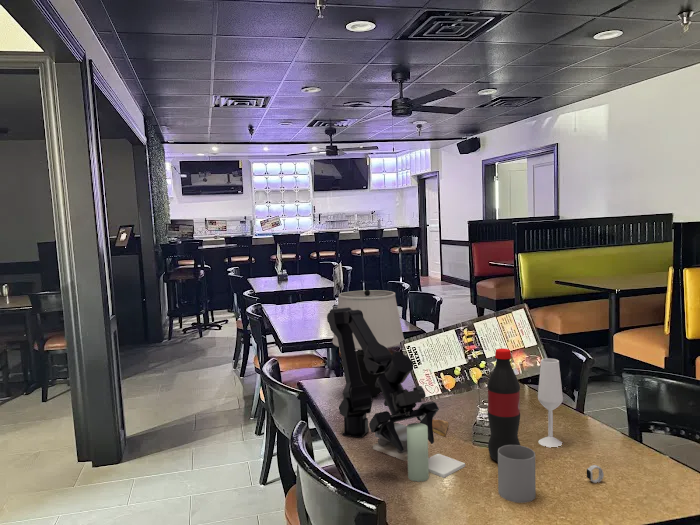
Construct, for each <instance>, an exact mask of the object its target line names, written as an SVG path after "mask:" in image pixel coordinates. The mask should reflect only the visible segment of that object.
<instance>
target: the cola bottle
mask: <svg viewBox="0 0 700 525" xmlns="http://www.w3.org/2000/svg"><path fill="white" fill-rule="evenodd" d="M494 354H495V355H494V358H495V365H494V368H493V370H492V372H491V374H490V377H489V379H488V381H487V383H486V384H487V386H486V389H487V417H488V418H487V419H488V424H489V429H490V436H489V440H488V444H487V449H488V453H489V457H490V458H491V459H492V460H493V461H495V462H497V463H498V449H499V448H500V447H502V446H506V445H520V446H521V442H520V440H519V436H518V434H519V428H520V422H521V408H520V407H521V405H520V404H521V403H520V400H521V399H520V398H521V397H520V391H521V385H520V382H519V380H518V378H517V375H516V373H515V371H514V369H513V367H512V365H511V364H512V363H511V360H512V352H511V349H509V348H501V347H500V348H497V349H495V353H494Z"/></svg>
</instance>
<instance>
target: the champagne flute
mask: <svg viewBox="0 0 700 525" xmlns="http://www.w3.org/2000/svg"><path fill="white" fill-rule="evenodd" d="M562 388H563V387H562V379H561V370H560V360H558V359H556V358H550V357H548V358H542V359H541V360H540V369H539V381H538V388H537V390H538V392H537V399H538V402H539V403H540V404H541V405H542V406H543V407H544V408H545V409H546V410H547V420H548V422H547V423H548V426H547V428H548V430H547V432H548V434H547V436H544V437H542V438H540V439H539V440H538V444H539V445H541V446H543V447H545V446H546V448H551V447H557V448H559V447H558V446H561V445H562V443H563V442H562V441H561V440H559V438H556V437H554V434H553V433H554V431H553V428H554V425H553V415H554V414H553V412H554V411H553V410H555V409H557V408H558V407H559V406H560V405H561V404H562V402H563V401H564V397H563V389H562ZM561 447H562V446H561Z"/></svg>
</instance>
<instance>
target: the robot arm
mask: <svg viewBox="0 0 700 525" xmlns="http://www.w3.org/2000/svg"><path fill="white" fill-rule="evenodd" d="M337 308H338V307H337ZM337 308H332V309H330V310H329V312H327V314H326V319H327V323H328V324H329V328H330V331H331V332H332V333H333V335H334V334H335V335H336V337H337V338H338V343H339V347H338V348H339V353H340V358H341V364H342V368H343V374H344V378H345V386H344V389H343V392H342V398H343V400H342V401H341V403H340V404H339V405H338V411H339V412H338V413H339V414H340V416H341V417H342V416H343V423H344V424H343V425H344V426H343V427H344V431H343V432H342V436H346V437H353V438H363V437H364V436H365V435H366V434H367V433H368V432H369V430H370V432H371V433H372V434H375V432H377V435H382V436H383V437H384V438H386V439H387V440H388V441H390V442H391V443H392V444H393V445H394V446H395V447H396V448H397V449H398V450H399V451H401V452H402V451H403V450H404V449H403V446H402V443H401V441H400V439H399V437H398V435H397V432H396V430H395V426H394V423H395V422H396V423H398V422H402V421H407V420H410V419H414V418H415V419H417V420H418V421H419V423H422V424H425V425H427V427H428V443H430V445H434V443H435V438H434V432H433V427H432V420H433V418H434V417H435V416H436V414H437V413H438V412H439V410H440V408H439V406H438V404H437V402H435V401H426V402H423V399H425V398H426V391H425V389H424V387H423V386H422V385H418V386H415V387H413V388H412V389H413V390H410V391H408V389H406V388H405V389H404V388H403V385H402V383H404V382H405V381H406V379H407V378H408V377H409V376H410V373H411V372H412V370H414V362H413V361H412V359H410V357H409V356H407V355H406V354H402V352H401V350H398V351H393V353H391V351H390V350H389V348H386V347H385V346H383V345H381V344H379V343H378V341H377V340H376V338H375V336H374V335H373V333H372V331H371V329H370V328H369V326H368V324H367V323H366V321H365V319H364V318H363V313H362V311H361V310H351V308H349V307H347V308H338V309H337ZM353 334H354V335H355V337H356V339H357V341H358V343H359V344H360V346H361V348H362V350H363V352H364V360H363V361H364V363H365V367H366V369H367V370H368V372H369V373H370V374H378V373H382V374H381V375H380V376H379V377H377V381H376V383H375V387H380V389H381V394H382V396H383V399H384V400H385V401H384V402H383V404H384V407H387V408H388V410H389V411H388V410H385V411H381V412H376V413H375V414H374V415H373V416H372V418H371V419H370V421H369V418H367V414H371V412H372V405H373V397H372V396H371V393H370V387H369V385H368V384H367V385H365V383H364V382H363V381H362V379H361V375H360V370H359V365H358V360H357V355H356V351H357V350H355V345H354V340H353ZM422 402H423V403H422ZM417 403H421V405H420V406H419V407H418V408H417V409H414V408H415V407H416V406H417Z"/></svg>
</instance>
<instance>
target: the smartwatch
mask: <svg viewBox="0 0 700 525" xmlns="http://www.w3.org/2000/svg"><path fill="white" fill-rule="evenodd" d="M595 469H598V476H597V478H596V479H593V477H594V476H593V474H594V472H593V470H595ZM604 475H605V473H604V471H603V469H602V468H601V467H600V466H599V465H596V464H593V465H592V464H591V465H590V466H589V467H588V468H586V478H587V479H588V480H589V481H590V482H592V483H594V484H598V483H601V481H602V480H603V479H604ZM597 482H598V483H597Z"/></svg>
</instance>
